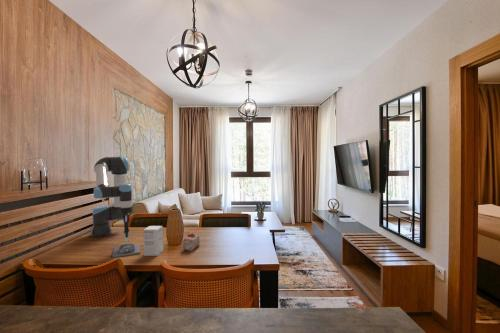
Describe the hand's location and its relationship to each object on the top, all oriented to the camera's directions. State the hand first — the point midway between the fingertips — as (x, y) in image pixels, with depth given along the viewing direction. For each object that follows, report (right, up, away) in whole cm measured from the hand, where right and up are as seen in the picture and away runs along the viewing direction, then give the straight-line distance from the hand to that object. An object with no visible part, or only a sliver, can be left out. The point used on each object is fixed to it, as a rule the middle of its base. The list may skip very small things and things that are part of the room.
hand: (126, 241), depth 175 cm
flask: (0, -3, -1) cm, 3 cm away
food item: (+43, -5, +1) cm, 44 cm away
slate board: (+2, -6, -3) cm, 7 cm away
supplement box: (+21, -6, -7) cm, 23 cm away
